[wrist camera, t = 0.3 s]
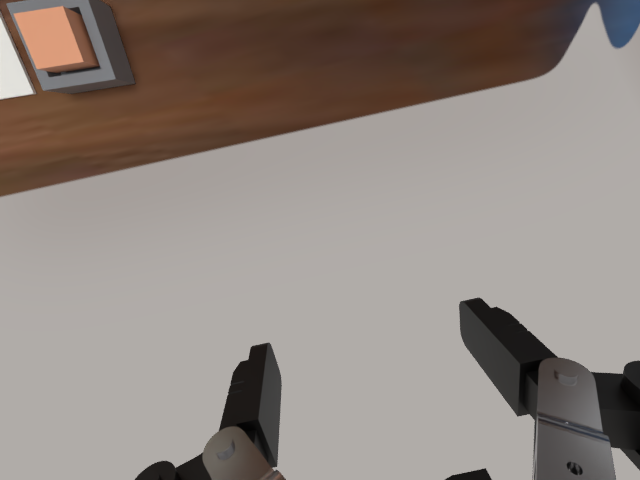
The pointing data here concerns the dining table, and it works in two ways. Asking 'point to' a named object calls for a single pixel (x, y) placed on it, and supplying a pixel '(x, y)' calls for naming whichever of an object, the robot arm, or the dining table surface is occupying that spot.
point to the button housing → (102, 38)
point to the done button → (57, 39)
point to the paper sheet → (12, 67)
